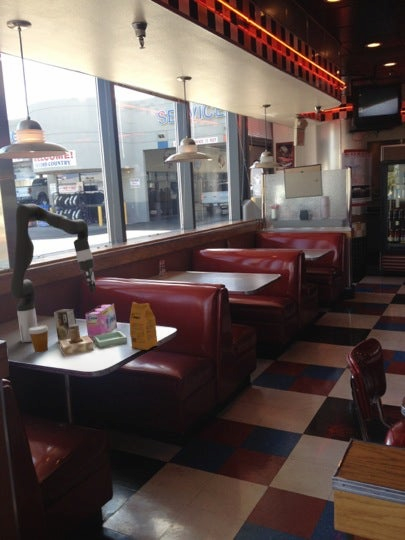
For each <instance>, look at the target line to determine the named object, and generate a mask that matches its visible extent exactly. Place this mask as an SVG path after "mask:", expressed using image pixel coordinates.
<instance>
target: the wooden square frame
mask: <svg viewBox="0 0 405 540" xmlns="http://www.w3.org/2000/svg"><path fill="white" fill-rule="evenodd" d="M80 340H81V342H78V343H73V344H71V339H66V340H61V341H59V347H60V350H61V351H62V354H63V355H64V356H69V355H73V354H78V353H84V352H88V351H94V349H95V347H94V340H93V339H92V338H89V337H88V334H87V335H83V336H82V335H80Z"/></svg>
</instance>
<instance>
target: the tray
mask: <svg viewBox="0 0 405 540" xmlns="http://www.w3.org/2000/svg"><path fill="white" fill-rule="evenodd" d="M92 339H93V343H95V345H96V346H97V347H98V348H99V349H102V348H108V347H113V346H116V345H117V346H118V345H123V344H127V343H128V338H127V335H125V334H124V333H123V332H122V331H121V330H115V331H110V332H109V333H106V334H101V335H96V336H93V338H92Z"/></svg>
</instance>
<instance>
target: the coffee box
mask: <svg viewBox="0 0 405 540" xmlns="http://www.w3.org/2000/svg"><path fill="white" fill-rule="evenodd" d="M75 313H76V312H75V309H74V308H71V309H70V308H69V309H67V308H66V309H65V308H61V309H58V310H56V311H54V312H53V316H54V322H55V328H56V329H55V330H56V335H57V336H56V337H57V341H58V342H60V341H61V340H66V339H71V337H70V330H69V326H70V325H75V324H77V321H76V320H77V319H76V314H75Z"/></svg>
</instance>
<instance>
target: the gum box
mask: <svg viewBox="0 0 405 540" xmlns="http://www.w3.org/2000/svg"><path fill="white" fill-rule="evenodd" d="M85 322H86V324H85V325H86V329H87V331H86V332H87V336H88V337H89V338H90V339H94V338H93V336H96V335H101V334H106V333H111V332H113V330H115V329H116V328H117V327H118V324H117V323H118V322H117V317H116V310H115V303H111V304H105V303H102V304H100V305H98V306H96V307H95V308H93V309H92V310H90V311H88V312H87V313H85Z"/></svg>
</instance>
